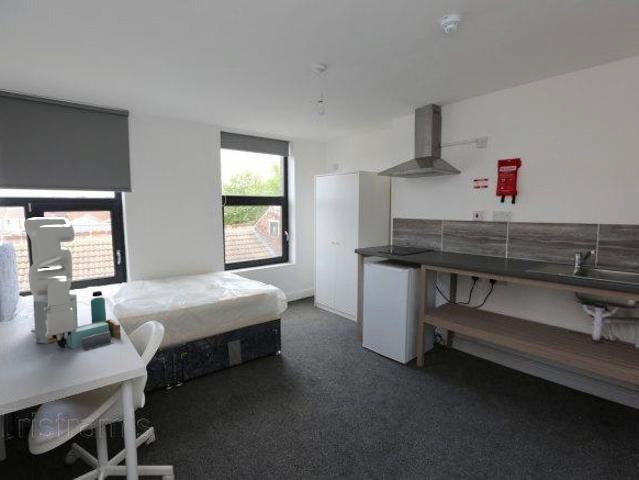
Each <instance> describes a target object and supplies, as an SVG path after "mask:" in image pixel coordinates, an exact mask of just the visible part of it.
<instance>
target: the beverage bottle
mask: <svg viewBox="0 0 639 480" xmlns="http://www.w3.org/2000/svg"><path fill="white" fill-rule="evenodd" d="M92 297H93V298H92V299H91V300H90V313H91V324H92V323H96V322H101V321H105V320H107V312H106V310H107V309H106V299H105V298H104V297H103V292H102V291H101V290H97V291H92Z"/></svg>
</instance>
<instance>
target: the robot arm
mask: <svg viewBox="0 0 639 480" xmlns="http://www.w3.org/2000/svg"><path fill="white" fill-rule="evenodd" d="M23 227H24V230H25V232H26V234H27V235H28V237H29V239H30V241H31V256H32V257H31V259H32V264H31V266H30V268H29V271H28V282H29V290H30V293H31V294H32V299H33V302H34V301H37V300H41V299H46V298H48V307H44V310H48V312H47V315H46V338H55V339H57V341H56V344H57V347H58V348H60V349H63V348H64V349H66V346H67V345H68V336H69V335H70V334H71V333H73V332H76V320H75V314H74V310H73V308H71V307H70V293H71V292H70V289H71V287H72V283H71V282H72V281H73V257H72V252H71V250H70V248H67V247H63V246H61V245H62V244H61V243H70V242H71V243H72V242H73V241H74V240H75V236H76V235H75V229H74V228H73V226H72V223H71V222H70V220H69V219H68V218H67V217H31V218H27V219H26V220H25V221H24V222H23ZM56 266H58V267H56ZM44 267H46V268H44ZM48 267H49V268H48ZM31 331H33V332H35V325H33V326H32V327H31ZM62 333H63V336H62V338H61V337H60V334H62Z"/></svg>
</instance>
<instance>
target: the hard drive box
mask: <svg viewBox="0 0 639 480" xmlns="http://www.w3.org/2000/svg"><path fill="white" fill-rule="evenodd" d="M77 298H78V296H77V294H72V293H71V294H70V307H71V308H73V310H74V314H75V320H76V327H78V326H79V324H78V322H79V321H78V302H77V301H78V299H77ZM44 307H48V298H46V299H41V300H37V301H34V300H33V318H34V319H33V320H34V326H35V331H34V336H35V338H34V340H35V343H41V344H47V345H48V344H50V343H53V342H57V339H55V338H46V315H47V312H48V310H44ZM62 336H63V333H62V334H60V337H61V338H62Z"/></svg>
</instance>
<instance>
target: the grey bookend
mask: <svg viewBox="0 0 639 480" xmlns="http://www.w3.org/2000/svg"><path fill="white" fill-rule="evenodd" d="M111 337H112V336H111V335H110V331H108V332H104V333H100V334H96V335H92V336H88V337H84V338H82V348H83V349H84V350H85V351H86V352H89V351H91V350H93V349H94V350H95V349H97V348H102V347H105V346H108V345H112V344H115V342H114V341H113V340H111Z"/></svg>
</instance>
